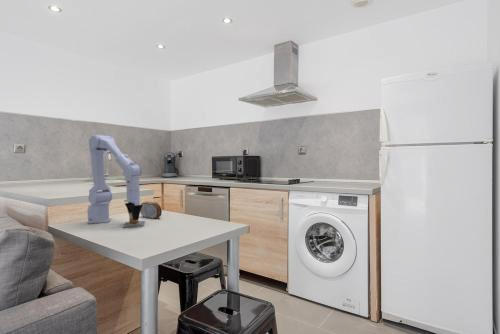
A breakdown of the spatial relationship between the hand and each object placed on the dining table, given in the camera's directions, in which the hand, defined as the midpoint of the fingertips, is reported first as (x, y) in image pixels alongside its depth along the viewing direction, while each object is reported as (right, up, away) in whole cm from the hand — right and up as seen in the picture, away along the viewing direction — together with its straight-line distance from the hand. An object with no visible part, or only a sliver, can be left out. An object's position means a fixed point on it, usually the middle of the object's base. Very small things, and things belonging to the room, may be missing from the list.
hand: (133, 218), depth 134 cm
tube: (0, -2, 0) cm, 2 cm away
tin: (+2, -3, +16) cm, 17 cm away
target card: (0, -3, 0) cm, 3 cm away
